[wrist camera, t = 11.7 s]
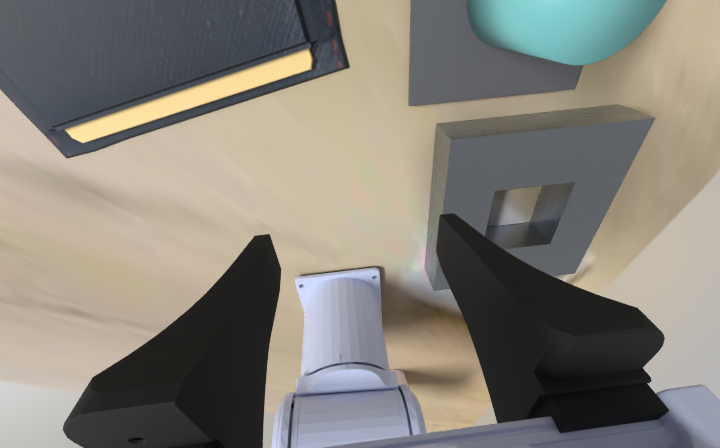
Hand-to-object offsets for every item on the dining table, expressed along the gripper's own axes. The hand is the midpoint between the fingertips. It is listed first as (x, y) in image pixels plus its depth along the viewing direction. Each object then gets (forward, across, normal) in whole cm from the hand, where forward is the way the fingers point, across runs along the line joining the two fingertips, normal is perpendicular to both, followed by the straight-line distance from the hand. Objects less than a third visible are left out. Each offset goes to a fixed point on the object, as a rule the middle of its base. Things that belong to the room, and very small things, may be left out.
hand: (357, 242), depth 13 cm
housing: (+10, -13, +6) cm, 18 cm away
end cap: (+10, -10, -8) cm, 16 cm away
